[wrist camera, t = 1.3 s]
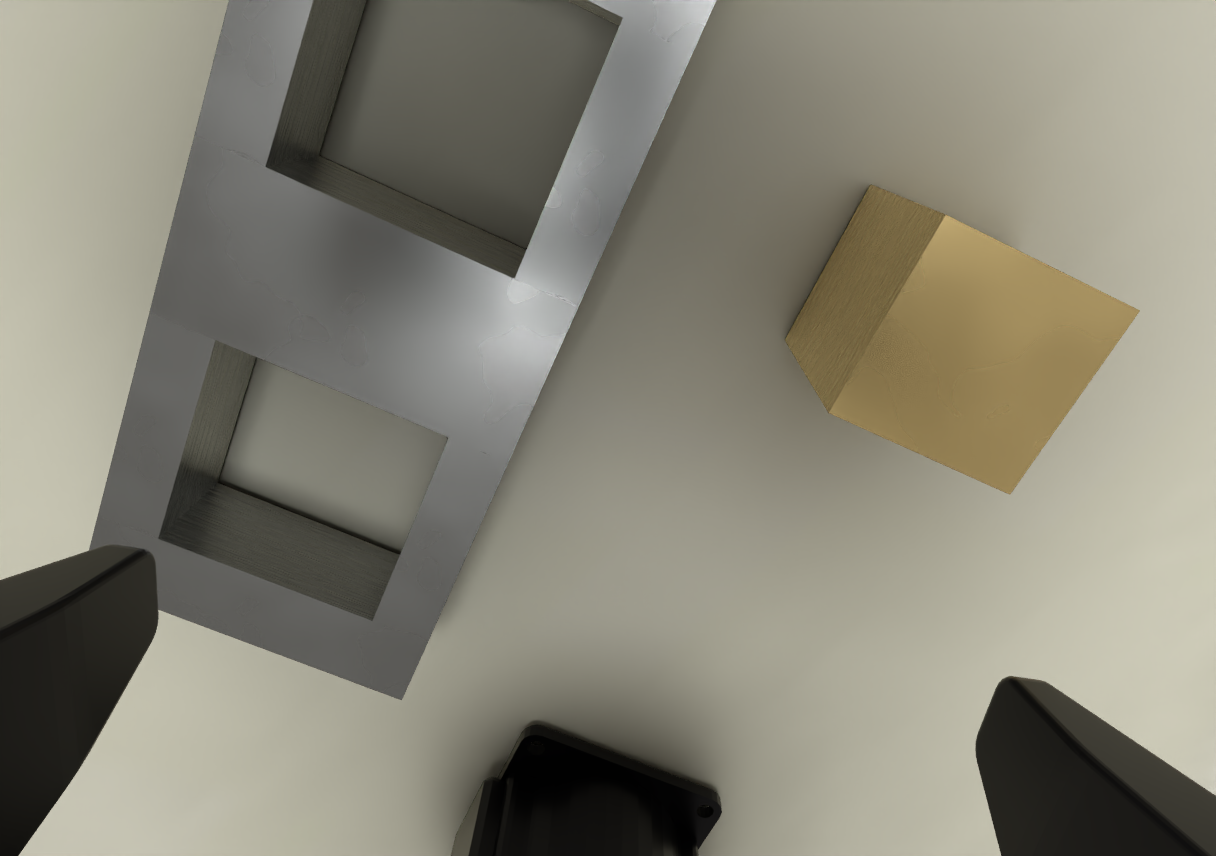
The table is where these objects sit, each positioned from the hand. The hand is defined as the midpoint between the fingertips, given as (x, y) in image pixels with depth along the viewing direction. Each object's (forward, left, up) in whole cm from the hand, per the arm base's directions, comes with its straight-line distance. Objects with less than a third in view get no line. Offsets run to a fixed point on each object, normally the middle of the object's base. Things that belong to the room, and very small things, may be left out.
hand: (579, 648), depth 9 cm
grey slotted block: (+5, +1, -12) cm, 14 cm away
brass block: (-6, -4, -13) cm, 14 cm away
